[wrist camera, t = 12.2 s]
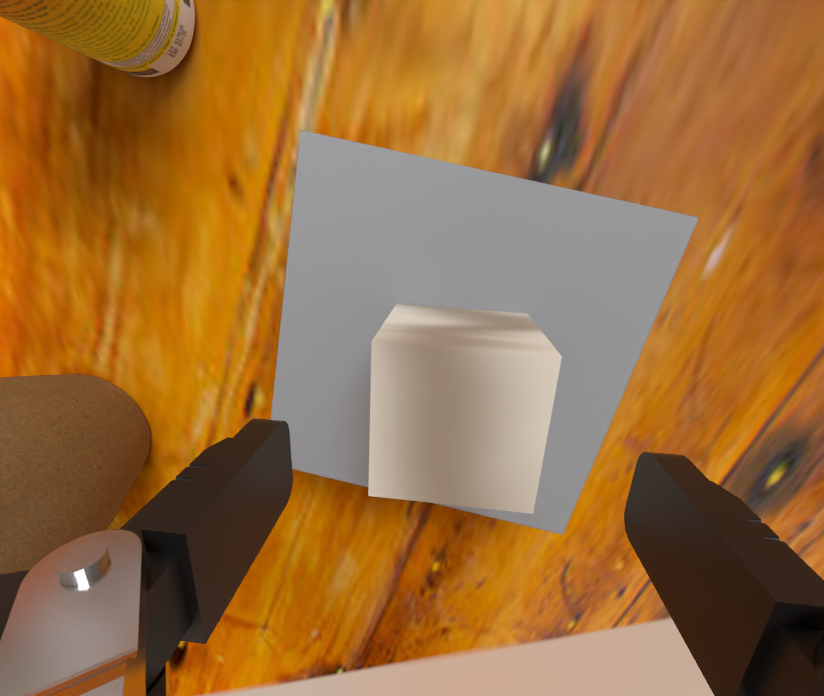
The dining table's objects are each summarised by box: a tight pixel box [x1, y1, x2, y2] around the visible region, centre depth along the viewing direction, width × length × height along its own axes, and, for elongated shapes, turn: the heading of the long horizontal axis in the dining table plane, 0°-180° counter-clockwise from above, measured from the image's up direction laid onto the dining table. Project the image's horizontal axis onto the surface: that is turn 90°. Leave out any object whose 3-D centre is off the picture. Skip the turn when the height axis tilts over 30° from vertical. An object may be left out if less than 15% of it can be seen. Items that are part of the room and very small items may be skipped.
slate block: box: [271, 130, 699, 535], centre depth 19 cm, size 14×14×6 cm
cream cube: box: [368, 304, 562, 514], centre depth 13 cm, size 5×5×5 cm
